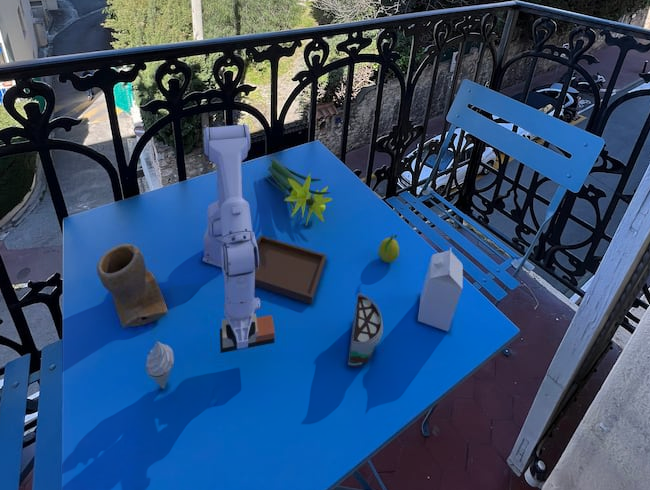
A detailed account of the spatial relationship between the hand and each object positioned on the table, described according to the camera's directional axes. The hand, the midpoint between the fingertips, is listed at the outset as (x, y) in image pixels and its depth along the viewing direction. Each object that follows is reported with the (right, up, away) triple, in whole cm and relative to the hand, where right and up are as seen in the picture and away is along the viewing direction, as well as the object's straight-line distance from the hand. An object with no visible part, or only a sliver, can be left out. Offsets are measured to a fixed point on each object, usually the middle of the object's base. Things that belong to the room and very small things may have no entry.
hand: (239, 334), depth 83 cm
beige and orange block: (+1, -1, +1) cm, 2 cm away
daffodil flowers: (+8, +13, +47) cm, 50 cm away
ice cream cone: (-15, -9, -3) cm, 17 cm away
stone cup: (-27, -1, +12) cm, 30 cm away
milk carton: (+45, -5, +16) cm, 48 cm away
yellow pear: (+36, +2, +29) cm, 46 cm away
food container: (+27, -8, +7) cm, 29 cm away
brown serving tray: (+7, +2, +24) cm, 25 cm away
